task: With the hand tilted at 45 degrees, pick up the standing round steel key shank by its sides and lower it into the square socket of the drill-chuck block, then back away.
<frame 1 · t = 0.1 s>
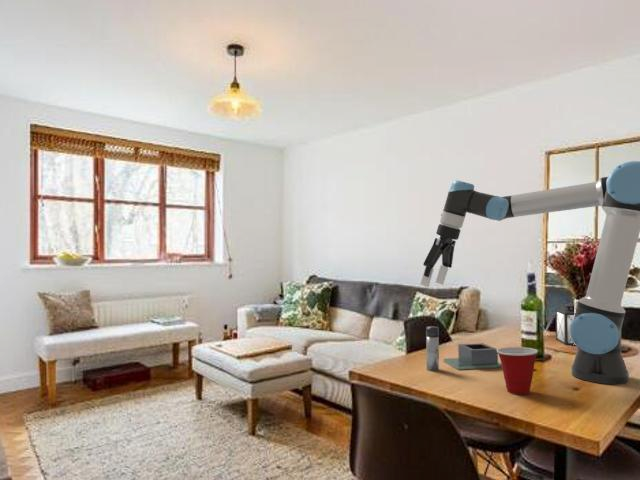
hand: (432, 284, 158), 28 cm above the table, tool tilted 20°, fingers open, 13 cm apart
chuck block: (477, 364, 157), on the table
plastic cup: (517, 392, 128), on the table
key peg: (432, 369, 151), on the table
adjustable wrench: (515, 377, 144), on the table
lantern: (574, 343, 191), on the table
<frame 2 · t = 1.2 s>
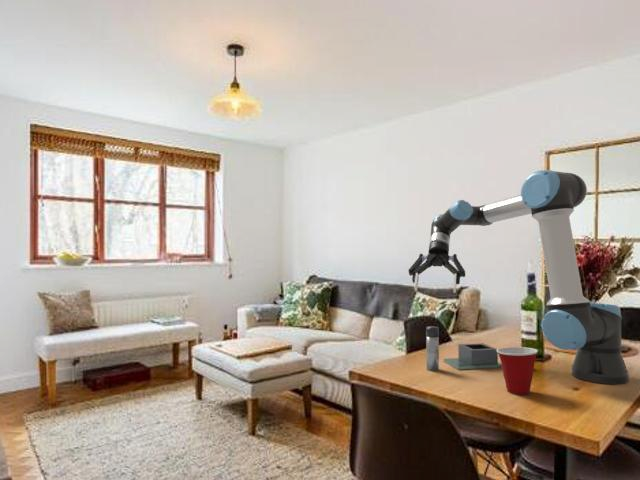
hand: (434, 289, 162), 26 cm above the table, tool tilted 45°, fingers open, 13 cm apart
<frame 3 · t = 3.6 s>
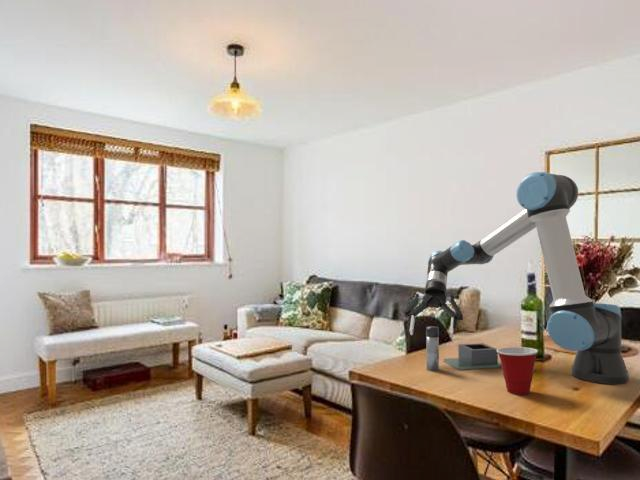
hand: (430, 334, 155), 11 cm above the table, tool tilted 45°, fingers open, 13 cm apart
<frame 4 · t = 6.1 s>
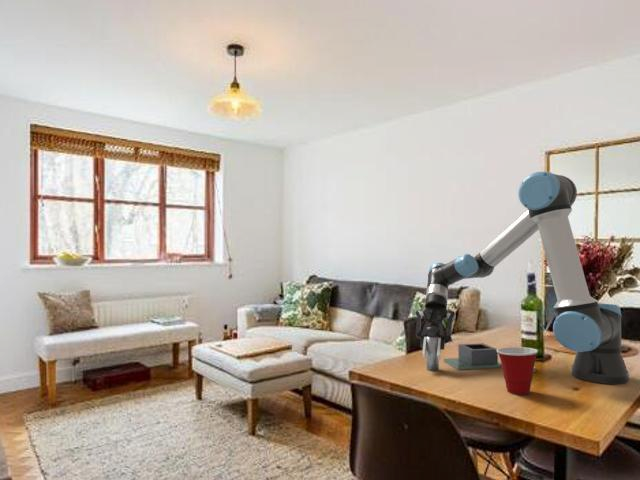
hand: (431, 356, 148), 5 cm above the table, tool tilted 45°, fingers closed on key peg, 4 cm apart
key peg: (432, 369, 151), on the table, touching gripper
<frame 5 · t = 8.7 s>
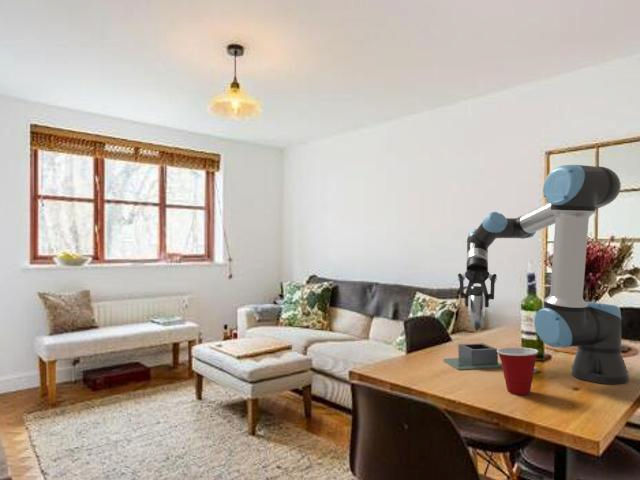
hand: (476, 313, 154), 18 cm above the table, tool tilted 45°, fingers closed on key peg, 4 cm apart
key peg: (477, 327, 157), point 13 cm above the table, touching gripper
when the fingers open (8 cm above the table, at t = 11.3 s): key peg drops 2 cm, resting on chuck block.
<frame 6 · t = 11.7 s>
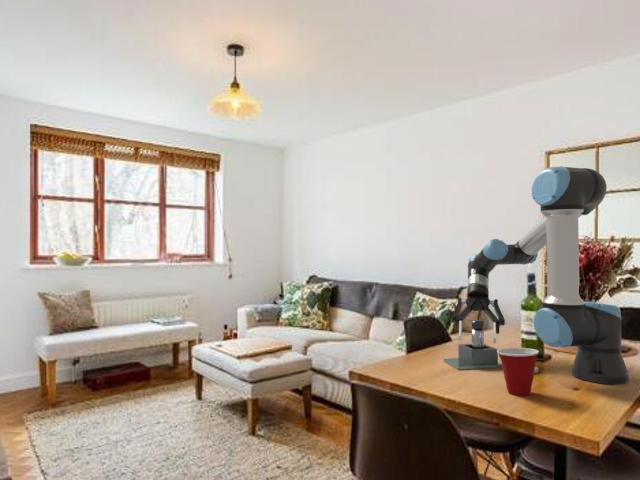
hand: (477, 339, 155), 9 cm above the table, tool tilted 45°, fingers open, 10 cm apart
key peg: (477, 361, 157), point 1 cm above the table, touching chuck block
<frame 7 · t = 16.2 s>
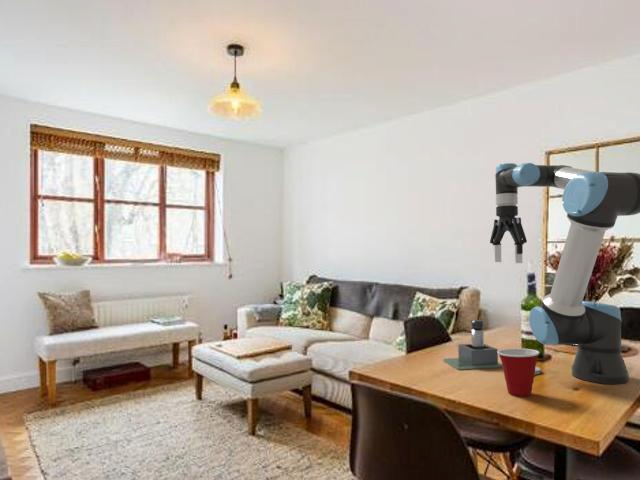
hand: (507, 262, 169), 35 cm above the table, tool pointing down, fingers open, 13 cm apart
at the end: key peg 0.0 cm off-centre on the chuck block, point 1.0 cm above the chuck block's base; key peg tilted 0°; the gripper is holding nothing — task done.
